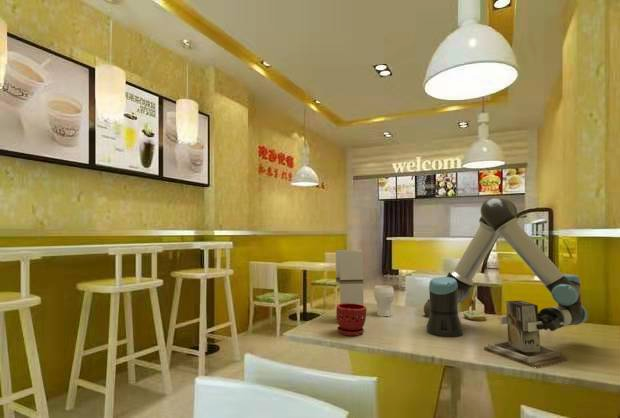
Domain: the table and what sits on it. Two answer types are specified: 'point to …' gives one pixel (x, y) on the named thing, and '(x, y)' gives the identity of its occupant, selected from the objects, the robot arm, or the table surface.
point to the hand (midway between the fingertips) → (514, 323)
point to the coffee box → (522, 326)
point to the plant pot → (351, 318)
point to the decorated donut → (474, 315)
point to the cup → (384, 299)
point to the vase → (427, 308)
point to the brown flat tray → (527, 354)
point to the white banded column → (350, 276)
